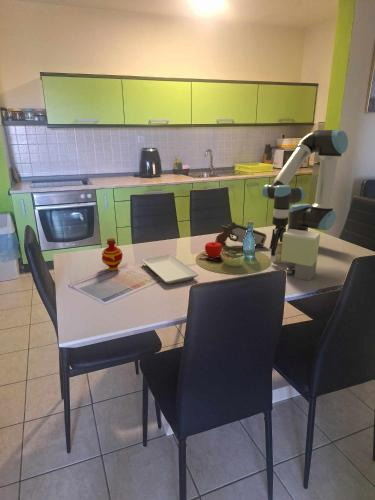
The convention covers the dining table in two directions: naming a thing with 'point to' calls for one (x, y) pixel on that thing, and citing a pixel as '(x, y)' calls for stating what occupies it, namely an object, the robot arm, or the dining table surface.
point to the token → (290, 270)
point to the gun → (239, 235)
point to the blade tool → (278, 255)
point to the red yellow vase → (112, 255)
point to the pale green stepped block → (301, 252)
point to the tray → (170, 268)
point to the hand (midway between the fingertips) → (277, 257)
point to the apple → (213, 249)
